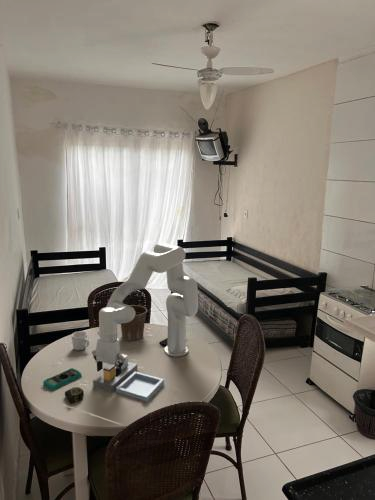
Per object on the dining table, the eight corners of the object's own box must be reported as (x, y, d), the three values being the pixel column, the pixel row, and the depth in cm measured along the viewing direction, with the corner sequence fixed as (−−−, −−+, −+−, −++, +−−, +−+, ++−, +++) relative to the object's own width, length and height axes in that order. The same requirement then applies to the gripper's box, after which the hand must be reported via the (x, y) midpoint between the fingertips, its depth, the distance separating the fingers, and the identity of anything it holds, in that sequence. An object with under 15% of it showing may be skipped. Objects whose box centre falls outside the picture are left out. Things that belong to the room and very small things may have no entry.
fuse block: (119, 366, 178) (119, 359, 177) (137, 370, 174) (137, 364, 173) (93, 387, 160) (93, 379, 159) (112, 393, 156) (112, 385, 155)
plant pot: (147, 330, 219) (147, 304, 215) (146, 342, 203) (146, 315, 200) (120, 330, 218) (119, 304, 214) (116, 343, 202) (116, 315, 199)
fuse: (122, 369, 174) (122, 353, 172) (127, 370, 173) (127, 355, 171) (117, 374, 170) (116, 358, 168) (122, 375, 169) (122, 359, 167)
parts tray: (135, 376, 169) (134, 371, 169) (163, 384, 163) (163, 379, 163) (116, 393, 156) (115, 388, 155) (146, 402, 150) (146, 397, 149)
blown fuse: (109, 379, 165) (109, 363, 163) (115, 381, 164) (115, 365, 162) (103, 385, 161) (103, 368, 159) (109, 386, 160) (109, 369, 158)
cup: (94, 348, 195) (94, 334, 193) (82, 354, 188) (82, 340, 186) (80, 343, 200) (79, 329, 199) (68, 349, 194) (68, 335, 192)
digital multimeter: (83, 378, 168) (82, 372, 167) (52, 393, 156) (51, 386, 155) (73, 372, 172) (73, 366, 172) (42, 386, 161) (42, 380, 160)
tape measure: (64, 397, 152) (63, 389, 152) (80, 392, 156) (80, 384, 155) (69, 406, 147) (68, 398, 146) (86, 400, 151) (85, 392, 150)
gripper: (86, 335, 158) (87, 372, 161) (120, 343, 151) (120, 381, 154) (97, 329, 164) (98, 364, 168) (130, 336, 158) (130, 373, 161)
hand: (108, 372), depth 161 cm, fingers open, 9 cm apart
